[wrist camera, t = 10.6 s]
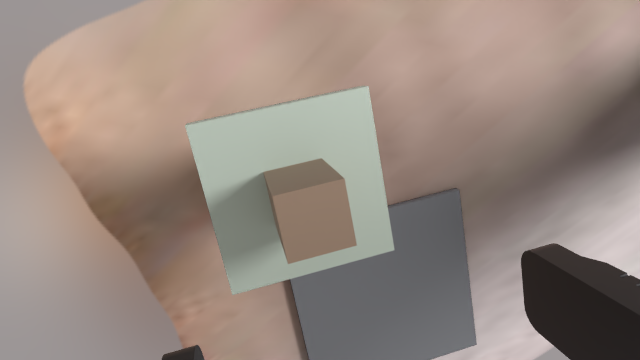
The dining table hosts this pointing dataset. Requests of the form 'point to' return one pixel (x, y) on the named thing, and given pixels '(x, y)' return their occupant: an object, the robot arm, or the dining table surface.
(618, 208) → the dining table surface
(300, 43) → the dining table surface
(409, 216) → the mat
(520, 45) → the dining table surface
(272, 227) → the lid
